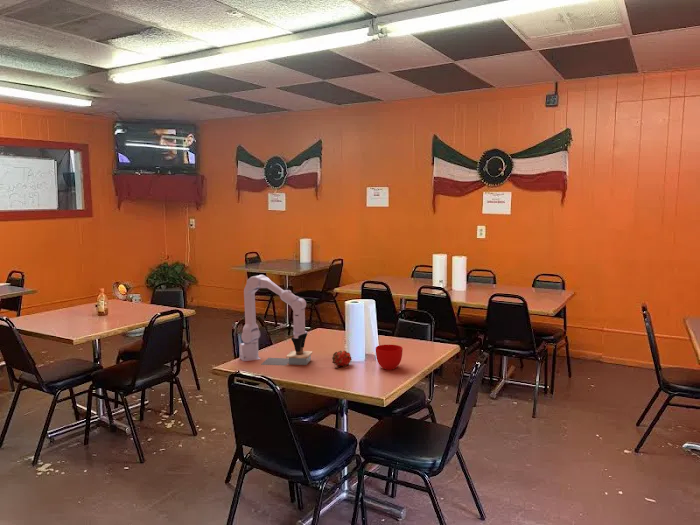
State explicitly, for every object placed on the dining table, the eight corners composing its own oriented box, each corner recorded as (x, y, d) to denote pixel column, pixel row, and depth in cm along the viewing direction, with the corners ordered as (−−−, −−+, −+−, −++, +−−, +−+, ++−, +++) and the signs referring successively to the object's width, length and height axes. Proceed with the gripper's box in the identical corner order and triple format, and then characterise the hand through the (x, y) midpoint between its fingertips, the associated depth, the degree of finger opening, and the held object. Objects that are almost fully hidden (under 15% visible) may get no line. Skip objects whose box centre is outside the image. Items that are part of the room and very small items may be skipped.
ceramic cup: (410, 364, 269) (410, 344, 268) (395, 373, 254) (395, 352, 253) (386, 361, 275) (386, 341, 274) (370, 369, 261) (370, 349, 260)
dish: (288, 365, 270) (288, 357, 269) (293, 360, 279) (293, 352, 278) (306, 365, 268) (306, 357, 268) (310, 361, 277) (310, 353, 277)
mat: (260, 365, 270) (260, 364, 270) (268, 358, 283) (268, 357, 283) (286, 366, 268) (285, 365, 268) (292, 359, 281) (292, 358, 281)
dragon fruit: (331, 371, 263) (348, 370, 272) (341, 363, 259) (359, 362, 267) (325, 355, 267) (343, 354, 276) (336, 347, 262) (353, 347, 271)
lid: (285, 357, 269) (285, 350, 268) (291, 352, 279) (291, 345, 279) (307, 358, 267) (307, 350, 267) (312, 352, 278) (312, 345, 277)
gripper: (303, 325, 264) (304, 353, 265) (310, 320, 278) (310, 346, 279) (289, 325, 265) (290, 353, 266) (296, 319, 279) (297, 346, 281)
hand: (299, 349), depth 273 cm, fingers open, 7 cm apart
